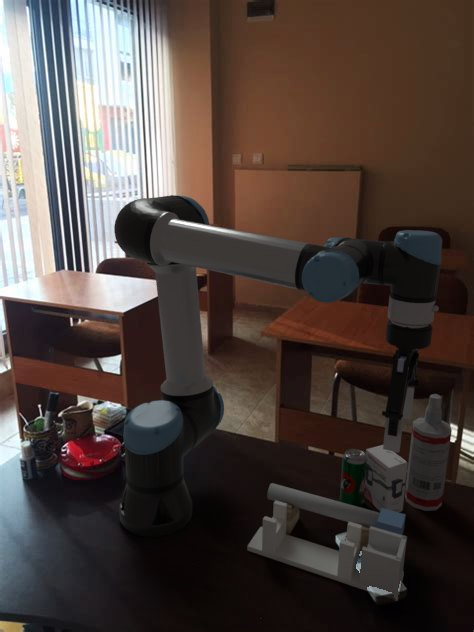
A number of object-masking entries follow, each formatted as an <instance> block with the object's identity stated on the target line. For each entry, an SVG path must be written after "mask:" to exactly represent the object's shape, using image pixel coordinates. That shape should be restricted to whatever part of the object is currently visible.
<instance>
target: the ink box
mask: <svg viewBox="0 0 474 632" xmlns="http://www.w3.org/2000/svg"><path fill="white" fill-rule="evenodd" d="M365 450H366V451H365V455H366V458H367V466H366V478H365V489H364V499H366V500H367V501H369V503H370V504H372V505H373V506H374V507H375V508H376V509H377V510H378V511H379V513H380V512H381V509H382V508H384V509H388V510H391V511H395V512H399V513H402V511H403V510H404V500H405V489H406V480H407V471H408V462H407V461H406V460H405V459H404V458H403V457H402V456H400V455H399V454H398V453H397V452H393V451H389V450H385V449H383V444H381V445H378V446H374V447H370V448H366V449H365Z"/></svg>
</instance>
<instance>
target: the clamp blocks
mask: <svg viewBox="0 0 474 632" xmlns="http://www.w3.org/2000/svg"><path fill="white" fill-rule="evenodd" d="M299 519H300V508H298V507H294V506H292V505H289V504H287V519H286V534H287V535H291V534H292V531H293V530H294V528H295V526H296V524H297V523H298V521H299ZM369 530H370V528H368V527H365V526H362V531H361V542H360V551H362V548H363V547H366V548H367V546H368V541H369Z"/></svg>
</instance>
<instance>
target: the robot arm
mask: <svg viewBox="0 0 474 632" xmlns="http://www.w3.org/2000/svg"><path fill="white" fill-rule="evenodd" d="M113 227H114V228H113V229H114V237H115V240H116V242H117V244H118V246H119V248H120V249H121V251H123V252H124V253H125V255H126V256H129V258H131V259H134V260H136V261H140V262H144V263H146V266H147V267H149V268H150V269H151V270H153V272H154V275H155V284H156V285H155V286H156V293H157V302H158V312H159V319H160V320H159V321H160V330H161V337H162V338H161V339H162V349H163V358H164V366H165V375H166V376H165V377H166V379H165V380H164V381H163V382H162V383H161V385H160V395H161V399H160V400H159V399H158V400H151V401H150V402H143V403H141V404H139V405H136V407H134V408H132V409H131V410H130V411H129V412H128V414H127V415H126V416H125V419H124V423H123V434H122V435H123V436H122V439H123V445H124V448H123V449H124V460H125V461H124V463H125V476H126V477H125V478H126V479H125V480H126V484H125V488H124V491H123V495H122V497H121V500H120V503H119V521H120V524H121V525H122V527H123V528H124V529H125V530H127V531H128V532H130V533H132V534H133V535H137V536H140V537H144V538H145V537H148V538H156V537H164V536H168V535H171V534H174V533H176V532H178V531H179V530H181V529H183V528H184V527H185V526H186V525H187V524H188V523H189V522H190V520H191V519H192V516H193V499H192V496H191V495H190V492H189V489H188V487H187V484H186V482H185V478H184V457H185V456H186V455H187V454H188V453H189V452H190V451H192V450H193V449H194V448H195V447H197V446H198V445H199V444H200V443H201V442H202V441H203V440H205V439H206V438H207V437H209V436H211V435H212V434H213V433H214V432H215V430H216V429H217V428H218V427H219V425H220V424H221V423H222V421H223V418H224V415H225V404H224V403H225V402H224V399H223V396H222V395H221V393H220V392H218V391H217V390H218V389H217V388H216V386H214V381H213V379H212V378H211V377H209V376H208V375H207V374H206V369H205V368H206V366H205V355H204V344H203V343H204V342H203V333H202V332H203V331H202V321H201V310H200V298H199V288H198V287H199V286H198V285H199V284H198V275H197V274H198V273H197V268H198V269H202V270H203V269H204V270H208V271H213V272H217V273H221V274H226V275H229V276H235V277H240V278H243V279H248V280H252V281H258V282H262V283H266V284H270V285H276V286H281V287H285V288H290V289H293V290H298V291H303V292H306V294H307V295H308V296H310V298H312V299H314V300H315V301H317V302H319V303H324V304H330V303H331V304H332V303H335V302H338V301H341V300H343V299H345V298H346V297H348V296H349V295H351V294H352V293H353V292H354V291H355V290H356V289H357V288H359V287H360V286H361V285H362V284H369V285H377V286H378V285H379V286H389V287H390V293H389V297H388V298H389V299H388V308H387V318H388V319H389V320H388V321H387V323H386V331H385V340H386V343H387V344H389V345H391V346H393V347H396V348H397V349H395V353H394V354H393V356H392V368H391V376H390V383H389V388H388V389H389V390H388V393H387V402H386V407H385V410H382V412H381V416H384V417H385V426H384V436H383V444H382V445H383V449H385V450H389V451H393V452H395V453H397V454H398V453H400V451H401V443H402V434H403V425H404V419H406V420H411V419H412V412H413V403H414V397H415V395H414V394H415V387H419V384H420V380H416V378H417V377H418V374H417V373H418V362H419V358H420V352H419V350H422V349H427V348H428V347H430V345H431V342H432V335H433V330H434V329H433V328H434V327H433V325H432V323H433V322H434V316H435V312H438V311H439V306H438V305H435V304H436V299H437V294H438V286H439V281H440V272H441V267H442V266H441V265H442V261H443V260H442V250H443V249H442V248H443V238H442V237H441V235H440V234H439V233H437V232H434V231H430V230H418V229H417V230H412V229H404V230H399V231H397V233H396V235H395V238H394V239H393V241H392V240H391V241H383V240H382V241H381V240H372V239H371V240H370V239H362V238H361V239H360V238H351V237H349V236H345V237H330V238H329V239H327V240H326V241H325V244H324V245H320V244H314V243H313V244H312V243H308V242H305V241H304V242H303V241H297V240H291V239H287V238H281V237H275V236H271V235H264V234H259V233H255V232H248V231H243V230H238V229H233V228H226V227H221V226H218V225H217V226H215V225H210V221H209V217H208V214H207V212H206V210H205V209H204V208H203V205H201V204H200V203H199V202H197V200H195V199H193V198H192V197H189V196H185V195H173V194H171V195H164V196H158V197H146V198H143V197H142V198H137V199H134V200H132V201H130V202H128V203H127V204H125V205H124V206H122V208H121V209H120V210H119V212H118V214H117V216H116V218H115V220H114V226H113Z"/></svg>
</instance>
